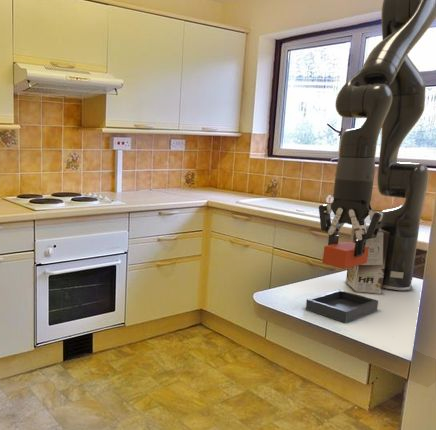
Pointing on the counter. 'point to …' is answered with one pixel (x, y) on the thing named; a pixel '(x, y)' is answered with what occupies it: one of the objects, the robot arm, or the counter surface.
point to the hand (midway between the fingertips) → (345, 253)
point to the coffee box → (369, 265)
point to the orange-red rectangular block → (343, 255)
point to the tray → (342, 305)
